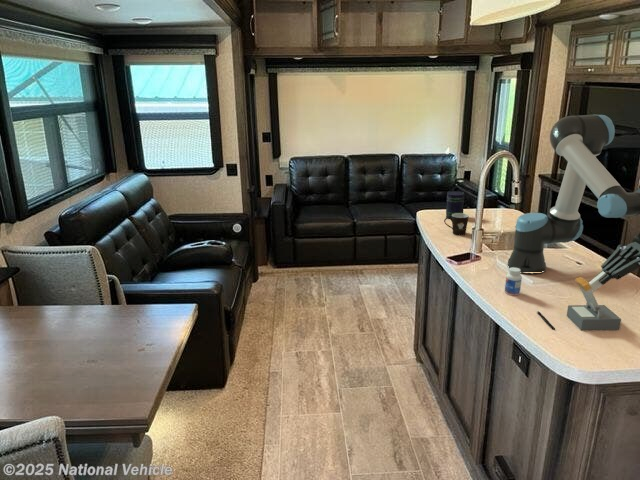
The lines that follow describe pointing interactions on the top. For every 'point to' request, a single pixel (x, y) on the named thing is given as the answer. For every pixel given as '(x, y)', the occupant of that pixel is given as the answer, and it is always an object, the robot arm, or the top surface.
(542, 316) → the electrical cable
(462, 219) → the coffee mug
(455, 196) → the storage jar
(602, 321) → the switch box
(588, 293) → the lever
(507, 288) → the pill bottle
